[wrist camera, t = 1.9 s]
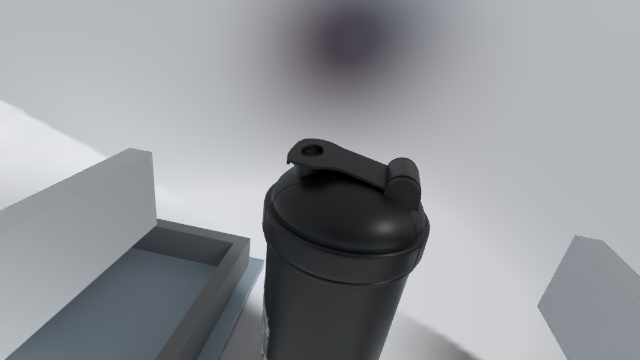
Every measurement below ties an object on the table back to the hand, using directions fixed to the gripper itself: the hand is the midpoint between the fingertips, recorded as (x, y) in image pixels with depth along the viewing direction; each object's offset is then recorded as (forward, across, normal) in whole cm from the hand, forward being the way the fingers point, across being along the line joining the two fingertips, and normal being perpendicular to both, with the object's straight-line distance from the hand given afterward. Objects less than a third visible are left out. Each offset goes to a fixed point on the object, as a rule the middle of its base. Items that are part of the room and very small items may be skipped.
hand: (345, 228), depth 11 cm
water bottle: (+10, 0, -24) cm, 26 cm away
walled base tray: (+16, -19, -24) cm, 34 cm away
